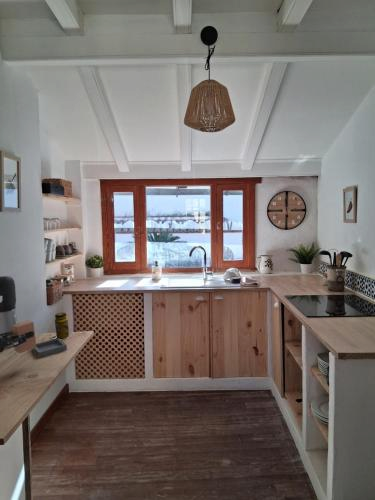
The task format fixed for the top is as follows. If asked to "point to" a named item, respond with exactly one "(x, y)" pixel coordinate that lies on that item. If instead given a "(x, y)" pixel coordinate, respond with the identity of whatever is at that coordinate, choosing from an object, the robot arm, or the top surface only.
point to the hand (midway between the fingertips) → (30, 332)
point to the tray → (49, 347)
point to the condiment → (61, 326)
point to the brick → (22, 329)
